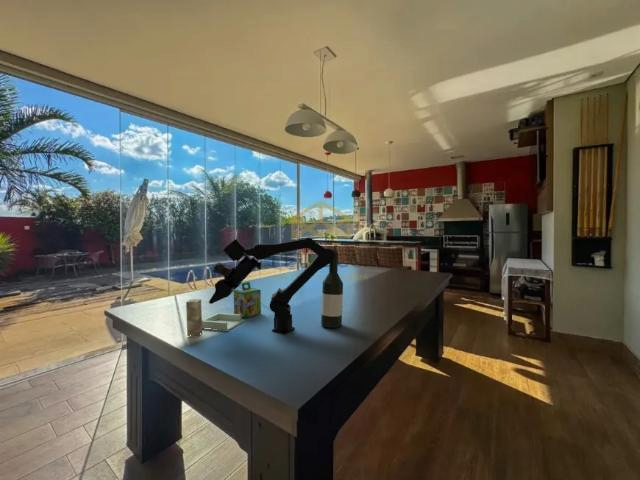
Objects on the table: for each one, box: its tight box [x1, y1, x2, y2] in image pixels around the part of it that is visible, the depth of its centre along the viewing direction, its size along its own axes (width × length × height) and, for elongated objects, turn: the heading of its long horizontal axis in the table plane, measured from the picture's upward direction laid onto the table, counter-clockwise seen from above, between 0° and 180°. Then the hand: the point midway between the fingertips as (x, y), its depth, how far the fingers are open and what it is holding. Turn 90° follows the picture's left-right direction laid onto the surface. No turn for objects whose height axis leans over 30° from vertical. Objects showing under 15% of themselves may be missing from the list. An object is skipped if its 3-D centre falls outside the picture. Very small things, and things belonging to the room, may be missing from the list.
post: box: [185, 298, 203, 337], centre depth 103 cm, size 4×4×13 cm
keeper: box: [202, 312, 245, 332], centre depth 114 cm, size 14×12×3 cm
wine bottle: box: [320, 249, 344, 328], centre depth 112 cm, size 8×8×30 cm
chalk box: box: [232, 281, 262, 319], centre depth 128 cm, size 9×9×15 cm
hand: (213, 299), depth 104 cm, fingers open, 9 cm apart
